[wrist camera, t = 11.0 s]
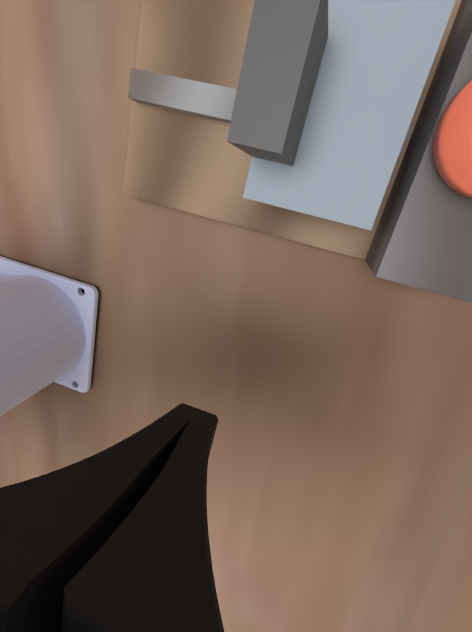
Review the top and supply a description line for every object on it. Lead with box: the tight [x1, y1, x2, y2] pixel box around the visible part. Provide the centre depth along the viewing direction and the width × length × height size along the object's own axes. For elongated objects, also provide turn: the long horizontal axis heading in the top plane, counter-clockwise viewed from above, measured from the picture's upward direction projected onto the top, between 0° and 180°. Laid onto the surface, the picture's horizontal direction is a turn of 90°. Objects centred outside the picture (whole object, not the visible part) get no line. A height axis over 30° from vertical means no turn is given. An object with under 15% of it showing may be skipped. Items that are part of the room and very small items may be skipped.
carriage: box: [227, 0, 456, 230], centre depth 11 cm, size 5×7×6 cm
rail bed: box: [122, 0, 472, 303], centre depth 14 cm, size 17×10×5 cm, turn 77°
